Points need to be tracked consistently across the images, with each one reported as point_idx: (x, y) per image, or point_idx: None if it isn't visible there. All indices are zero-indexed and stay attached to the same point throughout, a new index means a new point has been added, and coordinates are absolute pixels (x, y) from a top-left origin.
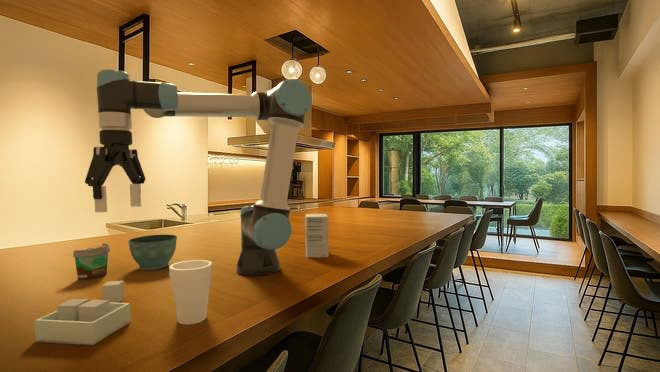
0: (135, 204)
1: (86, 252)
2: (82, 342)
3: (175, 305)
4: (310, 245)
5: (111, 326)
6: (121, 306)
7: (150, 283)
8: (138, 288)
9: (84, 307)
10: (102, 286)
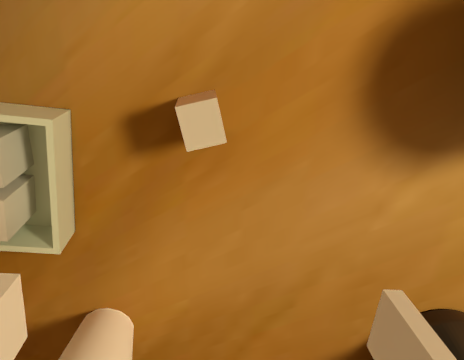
0: (380, 333)
1: None
2: None
3: (78, 334)
4: None
5: None
6: (35, 248)
7: (351, 133)
8: (306, 122)
9: None
10: (175, 107)
